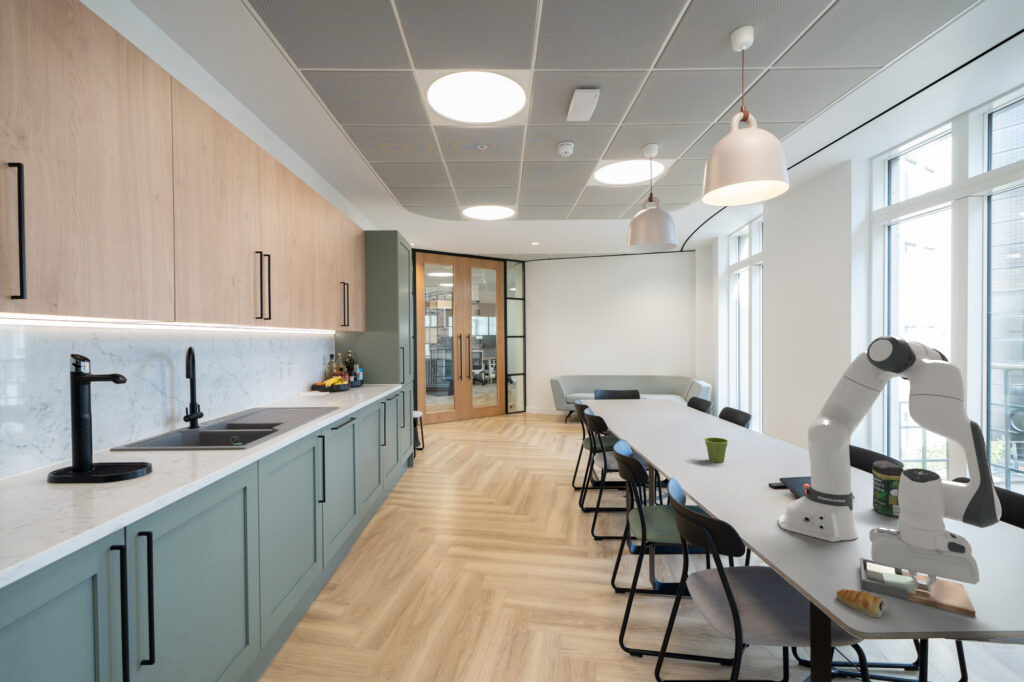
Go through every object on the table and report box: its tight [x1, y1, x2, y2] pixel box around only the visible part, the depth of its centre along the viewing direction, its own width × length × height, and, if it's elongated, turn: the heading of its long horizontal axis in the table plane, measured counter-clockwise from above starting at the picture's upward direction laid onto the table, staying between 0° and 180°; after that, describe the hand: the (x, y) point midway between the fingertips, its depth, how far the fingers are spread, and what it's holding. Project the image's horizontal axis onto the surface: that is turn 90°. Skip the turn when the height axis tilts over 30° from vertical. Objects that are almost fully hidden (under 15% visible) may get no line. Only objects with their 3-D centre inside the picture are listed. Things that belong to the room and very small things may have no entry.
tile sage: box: [883, 573, 916, 594], centre depth 117 cm, size 6×5×2 cm
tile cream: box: [867, 562, 895, 581], centre depth 124 cm, size 6×5×2 cm
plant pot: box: [703, 436, 730, 464], centre depth 237 cm, size 12×12×11 cm
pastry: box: [835, 588, 887, 618], centre depth 111 cm, size 9×7×4 cm
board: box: [902, 570, 976, 618], centre depth 115 cm, size 12×14×1 cm
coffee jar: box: [871, 460, 905, 518], centre depth 166 cm, size 10×8×19 cm
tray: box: [859, 557, 908, 601], centre depth 121 cm, size 9×14×2 cm, turn 144°
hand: (922, 589), depth 114 cm, fingers closed
